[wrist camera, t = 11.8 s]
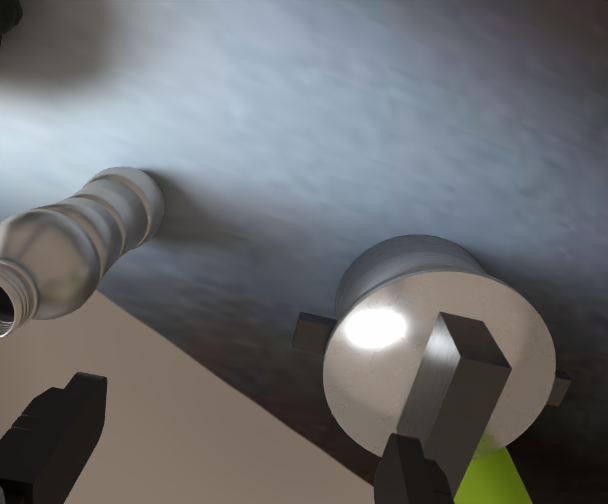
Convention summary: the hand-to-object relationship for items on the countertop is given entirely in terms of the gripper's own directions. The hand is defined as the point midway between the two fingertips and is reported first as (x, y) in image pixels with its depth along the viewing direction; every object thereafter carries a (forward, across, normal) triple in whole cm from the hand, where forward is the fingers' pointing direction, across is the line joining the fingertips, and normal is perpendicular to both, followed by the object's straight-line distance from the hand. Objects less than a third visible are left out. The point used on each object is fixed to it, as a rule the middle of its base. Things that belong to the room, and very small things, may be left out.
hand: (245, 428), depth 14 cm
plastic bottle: (+30, +13, +5) cm, 33 cm away
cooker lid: (+19, -13, +9) cm, 24 cm away
